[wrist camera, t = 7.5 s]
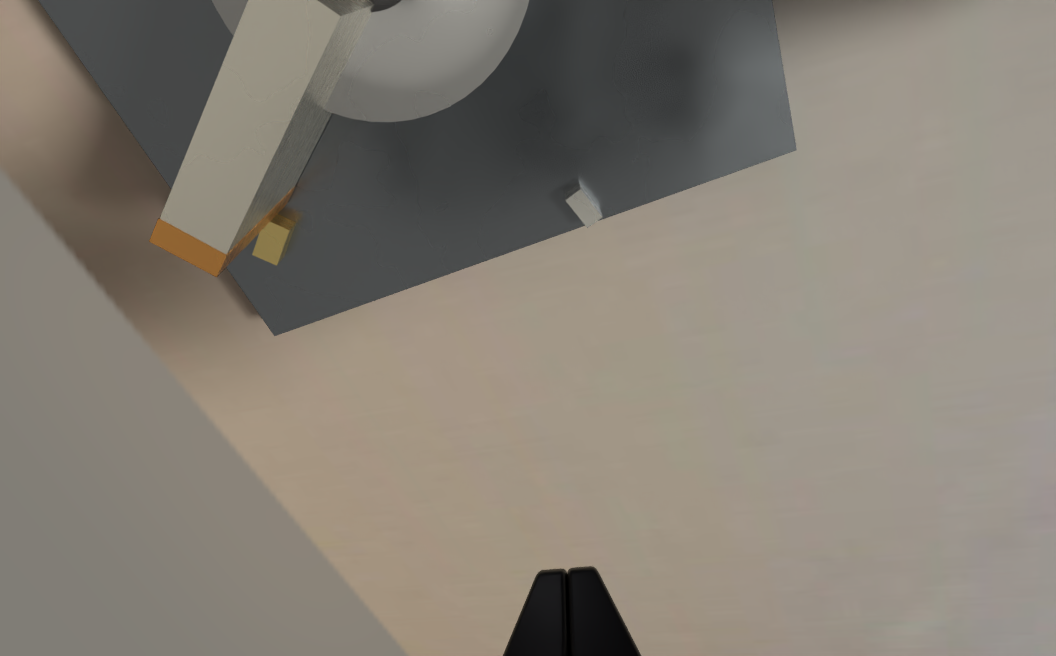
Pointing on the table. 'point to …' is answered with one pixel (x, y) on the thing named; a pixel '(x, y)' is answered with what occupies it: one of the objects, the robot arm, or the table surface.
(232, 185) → the dial
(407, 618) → the table surface
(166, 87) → the panel
